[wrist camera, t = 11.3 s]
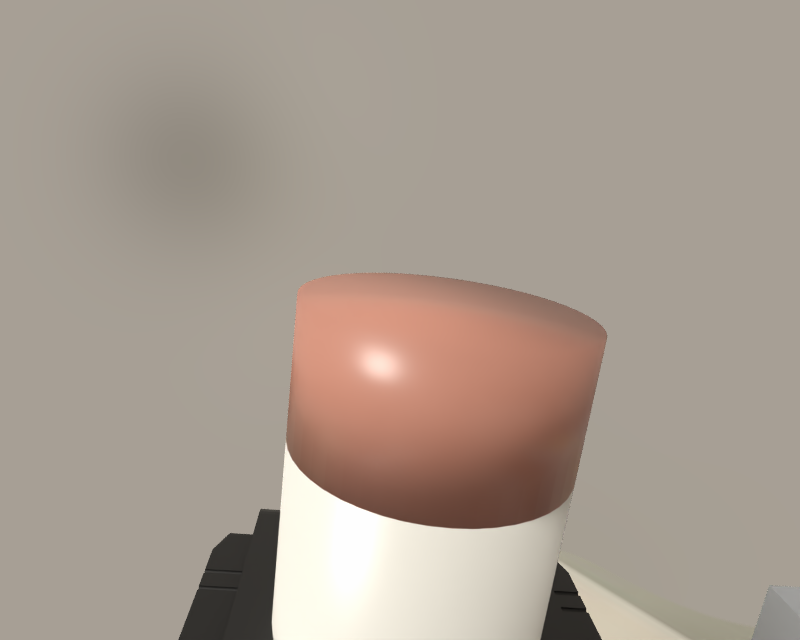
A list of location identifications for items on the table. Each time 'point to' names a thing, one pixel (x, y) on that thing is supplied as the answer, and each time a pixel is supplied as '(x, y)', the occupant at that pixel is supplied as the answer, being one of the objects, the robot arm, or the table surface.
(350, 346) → the plug
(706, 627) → the table surface
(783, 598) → the breaker board
